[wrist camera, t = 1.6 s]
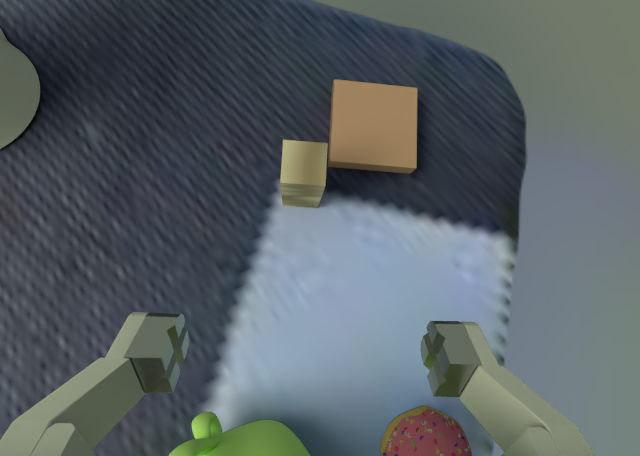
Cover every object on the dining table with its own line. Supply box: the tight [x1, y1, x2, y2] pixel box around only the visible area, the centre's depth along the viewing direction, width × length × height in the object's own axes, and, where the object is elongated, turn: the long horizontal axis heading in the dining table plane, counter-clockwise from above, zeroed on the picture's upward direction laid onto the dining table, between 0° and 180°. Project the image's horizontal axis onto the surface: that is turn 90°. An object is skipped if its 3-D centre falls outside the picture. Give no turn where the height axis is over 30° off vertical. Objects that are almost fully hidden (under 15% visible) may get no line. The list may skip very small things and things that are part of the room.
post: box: [280, 140, 328, 208], centre depth 34 cm, size 4×4×9 cm
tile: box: [328, 79, 417, 174], centre depth 40 cm, size 10×10×2 cm
